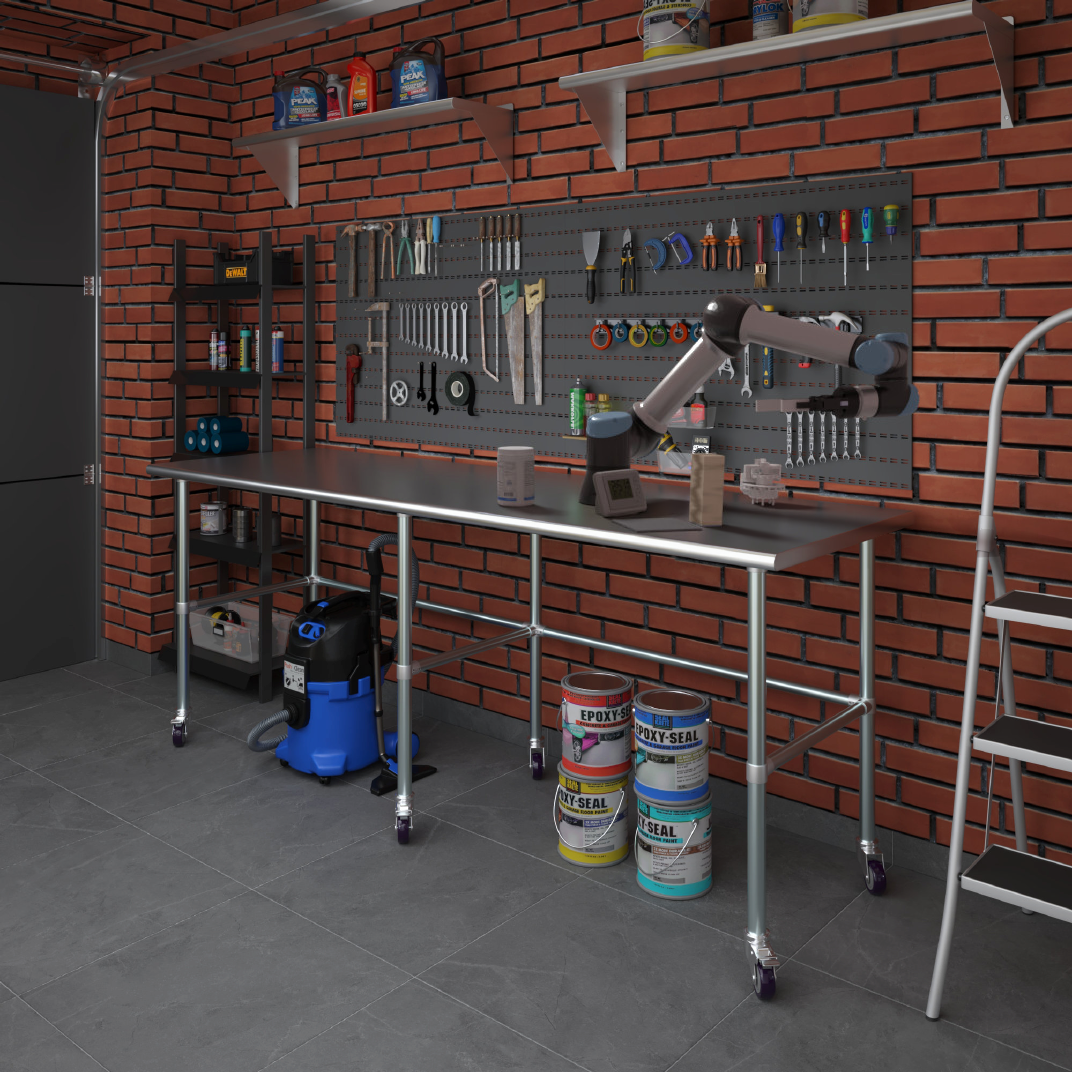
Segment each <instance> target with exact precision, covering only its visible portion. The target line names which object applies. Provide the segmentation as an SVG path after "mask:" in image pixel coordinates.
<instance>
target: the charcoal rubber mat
mask: <svg viewBox="0 0 1072 1072" xmlns="http://www.w3.org/2000/svg"><path fill="white" fill-rule="evenodd" d="M611 522H613V523H614V524H617V525H619V526H621V527H624V528H626V529H628V530H631V531H633V532H635V533H653V532H654V533H655V532H659V533H660V532H680V531H682V532H685V531H687V532H689V531H702V530H703V527H701V526H698V525H695V524H693V523H690V522H686V521H683V520H681V519H678V518H675V517H650V518H623V519H622V518H621V519H619V518H618V519H617V518H616V519H613V518H612V519H611Z"/></svg>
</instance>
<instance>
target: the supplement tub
mask: <svg viewBox="0 0 1072 1072" xmlns="http://www.w3.org/2000/svg"><path fill="white" fill-rule="evenodd" d="M496 457H497V458H496V462H497V465H496V470H497V471H496V474H497V475H496V477H497V479H496V480H497V481H496V484H497V489H496V490H497V504H498V505H500V506H502V507H509V508H510V507H511V508H513V507H514V508H518V507H519V508H522V507H530V506H533V505H534V504H535V491H536V490H535V450H534V447H532V446H521V445H520V446H518V445H516V446H515V445H514V446H513V445H511V446H509V445H508V446H499V447H498V448H497V454H496Z"/></svg>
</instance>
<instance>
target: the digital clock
mask: <svg viewBox="0 0 1072 1072" xmlns="http://www.w3.org/2000/svg"><path fill="white" fill-rule="evenodd" d="M593 482H594V487H595V491H596V499H595V505H594V506H595V507H594V514H596V515H600V516H603V517H604V518H608V517H614V518H615V517H621V516H628V515H634V514H638V513H641V512H645V511H647V509H648V508H647V507H648V506H647V505H648V504H647V500H646V497H645V493H644V489H643V485H642V481H641V477H640V473H639V471H638V469H635V468H630V469H621V470H612V471H604V472H597V473H595V474H594V475H593Z"/></svg>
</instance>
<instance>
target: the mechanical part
mask: <svg viewBox="0 0 1072 1072" xmlns="http://www.w3.org/2000/svg"><path fill="white" fill-rule="evenodd" d="M782 466H783V465H782V464H778V463H770V462H769V461H768V462H767V459H766V458H754V464H753V463H752V464H743V472H741V473H740V480H739V481H740V482H739V483H740V486H739V489H740V491H741V492H742V493H743V495H744V496H745V495H746V496H748V497H749V498H751V505H754V504H755V503H756V504H759V499H760V500H761V506H765V500H768V504H771V505H772V506H775V499H779V492H783V491H785V490H786V484H785V483H781V480H782ZM755 499H756V502H755Z"/></svg>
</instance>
